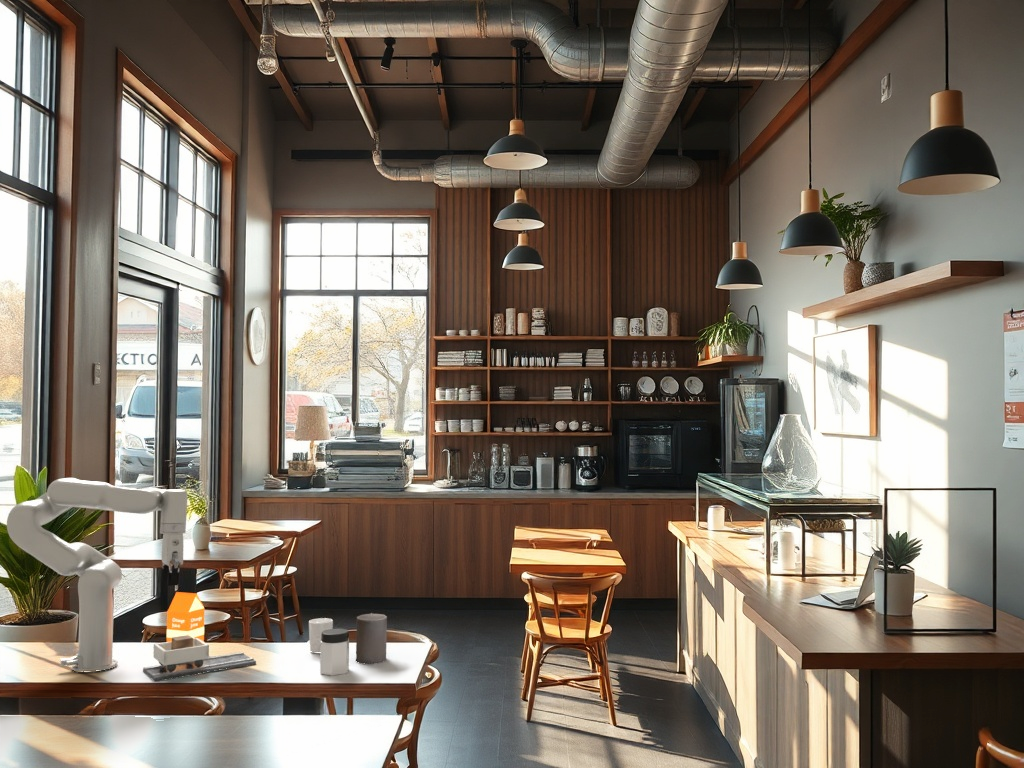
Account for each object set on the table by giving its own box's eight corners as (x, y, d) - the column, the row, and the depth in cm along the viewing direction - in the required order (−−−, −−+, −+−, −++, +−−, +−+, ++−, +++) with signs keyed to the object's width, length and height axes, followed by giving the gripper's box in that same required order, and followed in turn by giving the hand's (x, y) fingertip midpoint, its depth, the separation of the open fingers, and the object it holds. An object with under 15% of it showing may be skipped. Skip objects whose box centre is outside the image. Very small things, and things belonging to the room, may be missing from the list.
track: (154, 681, 242) (154, 676, 242) (143, 671, 253) (143, 666, 253) (255, 664, 260) (255, 659, 260) (240, 655, 271) (240, 651, 271)
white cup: (319, 655, 271) (319, 624, 271) (303, 651, 275) (303, 621, 276) (337, 650, 277) (337, 620, 278) (322, 647, 282) (322, 617, 282)
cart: (163, 673, 244) (164, 651, 245) (153, 665, 254) (153, 644, 254) (208, 666, 252) (208, 645, 253) (196, 658, 262) (197, 637, 262)
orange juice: (187, 658, 268) (188, 595, 269) (165, 656, 271) (167, 594, 272) (204, 652, 275) (205, 591, 276) (183, 650, 278) (184, 589, 280)
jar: (345, 675, 247) (346, 634, 248) (318, 676, 247) (318, 635, 247) (350, 667, 256) (350, 628, 257) (324, 667, 255) (324, 628, 256)
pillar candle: (349, 661, 263) (350, 613, 264) (370, 654, 271) (371, 608, 272) (372, 666, 257) (372, 617, 258) (393, 659, 266) (393, 611, 266)
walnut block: (175, 657, 250) (175, 640, 250) (171, 653, 254) (171, 637, 254) (192, 654, 253) (193, 638, 253) (188, 651, 257) (188, 635, 257)
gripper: (191, 530, 259) (188, 586, 257) (179, 525, 273) (176, 578, 272) (166, 531, 254) (162, 588, 253) (155, 526, 269) (151, 579, 268)
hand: (169, 582), depth 262 cm, fingers open, 9 cm apart
